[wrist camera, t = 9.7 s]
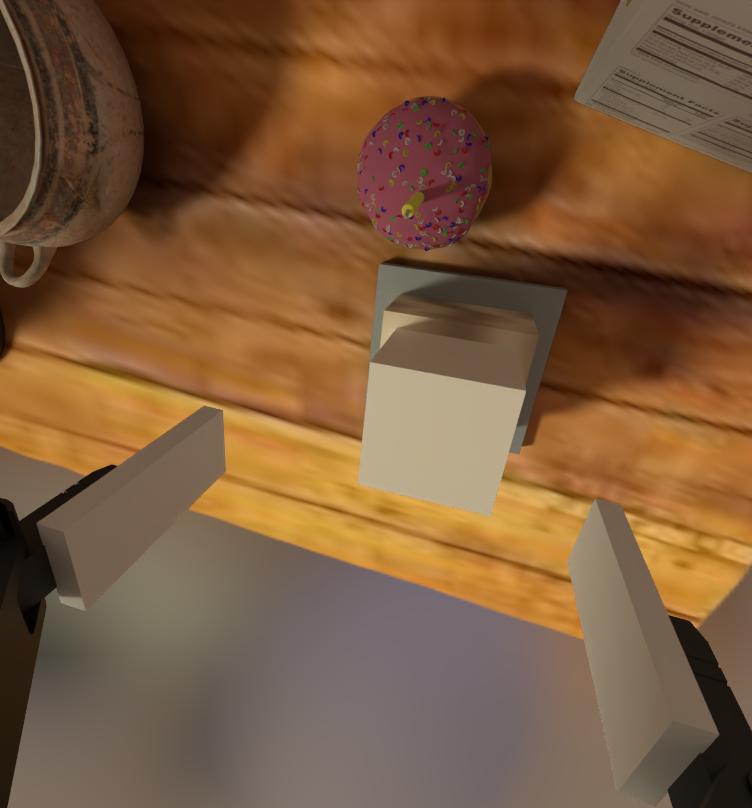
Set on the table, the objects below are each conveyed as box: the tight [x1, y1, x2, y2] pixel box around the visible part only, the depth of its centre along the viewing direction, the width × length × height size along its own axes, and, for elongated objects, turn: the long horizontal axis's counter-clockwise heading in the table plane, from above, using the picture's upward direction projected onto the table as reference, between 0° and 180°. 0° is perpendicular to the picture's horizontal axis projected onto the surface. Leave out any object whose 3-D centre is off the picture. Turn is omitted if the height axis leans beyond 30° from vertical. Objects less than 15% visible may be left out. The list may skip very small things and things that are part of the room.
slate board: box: [364, 262, 567, 454], centre depth 35 cm, size 14×14×1 cm
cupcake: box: [357, 96, 492, 251], centre depth 26 cm, size 9×8×12 cm
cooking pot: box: [0, 0, 144, 288], centre depth 30 cm, size 25×19×12 cm
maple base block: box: [380, 294, 539, 385], centre depth 32 cm, size 10×10×6 cm
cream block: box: [358, 328, 526, 516], centre depth 27 cm, size 8×8×7 cm
